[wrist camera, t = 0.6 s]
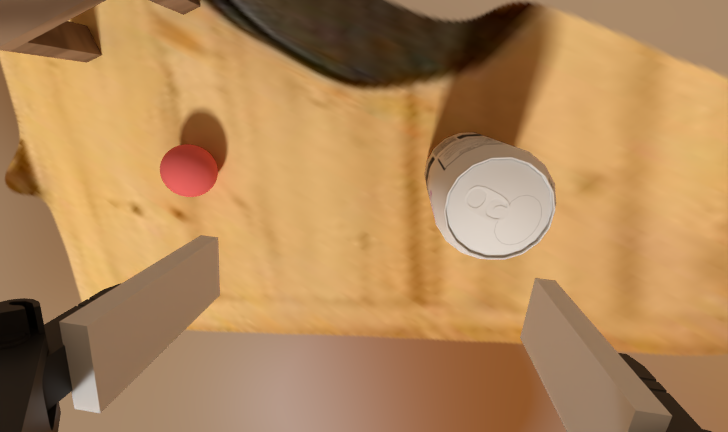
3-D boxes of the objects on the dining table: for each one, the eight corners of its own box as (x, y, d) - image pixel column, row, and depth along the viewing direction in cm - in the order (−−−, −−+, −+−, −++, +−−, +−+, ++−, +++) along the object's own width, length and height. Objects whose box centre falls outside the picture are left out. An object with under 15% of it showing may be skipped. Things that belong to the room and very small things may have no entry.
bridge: (72, 33, 38) (-27, 12, 30) (186, -26, 36) (114, -70, 27) (86, 62, 39) (-6, 49, 30) (200, 6, 36) (134, -26, 28)
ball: (172, 151, 41) (137, 158, 36) (213, 135, 40) (184, 139, 35) (194, 196, 42) (164, 209, 37) (234, 181, 41) (209, 192, 36)
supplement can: (521, 155, 37) (593, 185, 23) (476, 223, 39) (515, 288, 25) (451, 117, 37) (479, 123, 22) (410, 187, 39) (412, 233, 25)
